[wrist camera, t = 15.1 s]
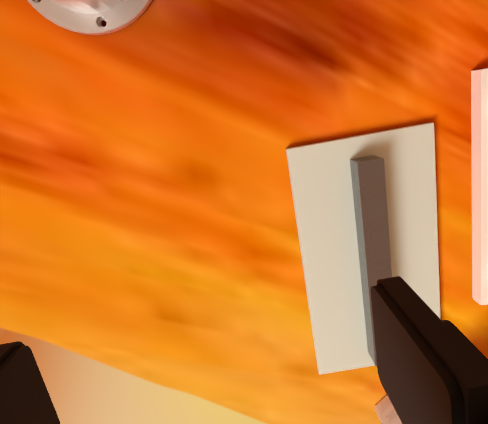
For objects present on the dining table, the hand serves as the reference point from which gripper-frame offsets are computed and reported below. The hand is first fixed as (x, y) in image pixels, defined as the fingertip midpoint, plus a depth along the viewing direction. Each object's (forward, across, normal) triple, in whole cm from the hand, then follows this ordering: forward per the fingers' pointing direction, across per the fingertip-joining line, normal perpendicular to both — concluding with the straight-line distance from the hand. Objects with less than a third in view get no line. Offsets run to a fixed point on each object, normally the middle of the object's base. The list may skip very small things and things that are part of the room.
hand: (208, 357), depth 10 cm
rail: (+28, -13, +12) cm, 33 cm away
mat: (+28, -13, +12) cm, 33 cm away
